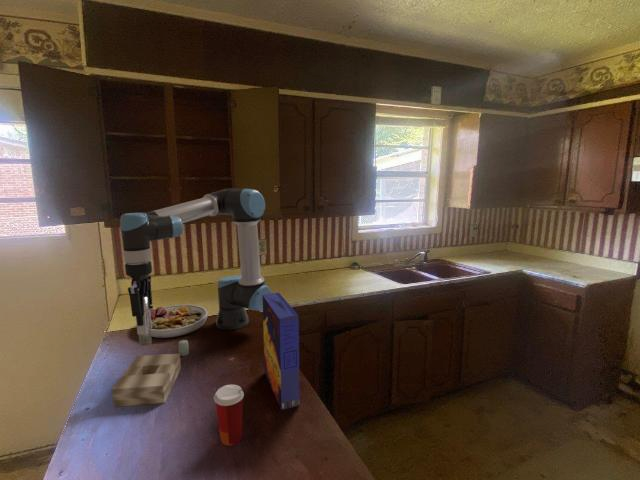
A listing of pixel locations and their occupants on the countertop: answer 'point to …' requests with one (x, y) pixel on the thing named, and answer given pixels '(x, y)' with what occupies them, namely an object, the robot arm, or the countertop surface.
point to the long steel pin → (146, 338)
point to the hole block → (147, 380)
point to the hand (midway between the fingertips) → (144, 330)
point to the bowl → (176, 320)
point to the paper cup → (229, 413)
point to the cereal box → (281, 349)
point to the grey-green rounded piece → (183, 348)
